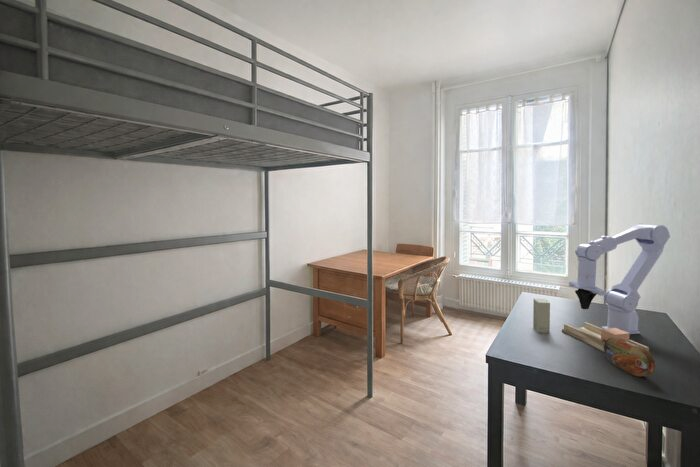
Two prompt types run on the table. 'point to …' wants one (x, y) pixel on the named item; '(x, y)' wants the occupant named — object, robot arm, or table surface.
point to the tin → (629, 357)
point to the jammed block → (614, 334)
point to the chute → (591, 335)
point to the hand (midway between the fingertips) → (584, 308)
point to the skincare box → (541, 315)
